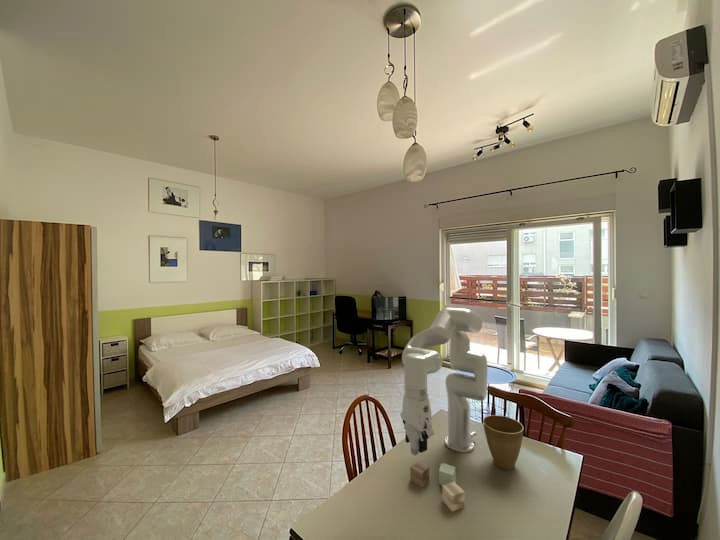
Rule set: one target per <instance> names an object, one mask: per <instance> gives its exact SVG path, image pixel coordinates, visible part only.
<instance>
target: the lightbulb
mask: <svg viewBox="0 0 720 540" xmlns="http://www.w3.org/2000/svg"><path fill="white" fill-rule="evenodd" d="M405 431H406V432H405V435H406V434H407V437H408V438H409V441H410V442H409V446H410V453H411V454H412V455H413V456H417V455H419V453H420V452H419V440H420V437H419V432H418V430H417V429H415V428H414V427H413V426H412V425H411V424H408V425H407V427H406V430H405ZM422 434H423V435H424V431H423V432H422Z"/></svg>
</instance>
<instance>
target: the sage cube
mask: <svg viewBox="0 0 720 540" xmlns="http://www.w3.org/2000/svg"><path fill="white" fill-rule="evenodd" d="M456 469H457V468H456V466H453V465H450V464H447V463H444V462H443V463H441V464H440V467H439V469H438V485H440V486H443V485H446V484H449V483H452V482H455V483H456V480H457V479H456V477H457V476H456V474H457V472H456V471H457V470H456Z"/></svg>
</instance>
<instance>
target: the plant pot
mask: <svg viewBox="0 0 720 540" xmlns="http://www.w3.org/2000/svg"><path fill="white" fill-rule="evenodd" d="M482 424H483V429H484V430H483V431H484V434H485V438H486V442H487V447H488V449H489V452H490V454H491V457H492V460H493V462H494V464H495V465H496V466H498V467H499V468H501V469H504V470H510V469H513V468H514V467H515V466H516V463H517V461H518V458H519V455H520V451H521V446H522V442H523V437H524V429H525V428H524V426H523V424H522V423H521V422H520V421H518V420H517V419H515V418H511V417H508V416H505V415H499V414H498V415H496V414H493V415H488V416H487V415H486V416H485V417H484V418H483V419H482Z"/></svg>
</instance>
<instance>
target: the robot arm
mask: <svg viewBox="0 0 720 540" xmlns="http://www.w3.org/2000/svg"><path fill="white" fill-rule="evenodd" d="M482 327H483V318H482V315H480V314H479V312H476V311H474V310H471V309H468V308H460V307H459V308H458V307H444V308H441V310H439V312H438V313H437V315H436V316H435V318H434V320H433V322H432V324H431V325H430V327H428V328H426V329H424V330H422V331H420V332H418V333H416V334H415V335H413V336H412V337H411V338H410V339H409V341H408V342H407V344H406V345H405V347H404V349H403V351H402V354H401V362H402V364H403V365H404V366H403V367H404V370H403V372H404V373H403V375H404V376H403V377H404V378H403V379H404V380H403V381H404V382H403V384H404V385H403V386H404V387H403V388H404V393H403V399H402V407H401V409H402V411H401V412H400V413H399V414H400V415H399V416H400V417H401V419H402V424H403V425H404V426H403V428H404V430H405V443H407V444H408V443H410V441H409V438H408V437H407V434H406V427H407V425H408V424H411V425H412V426H413V427H414V428H415V429H417V430H418V432H419V437H420V440H419V453H420V454H421V453H423V452H426V451H427V450H428V439H429V438H431V437H432V436H433V435H435V433H434V430H433V428H432V427H433V424H432V423H433V422H432V421H433V420H432V408H431V407H432V406H431V403H430V402H431V401H430V399H429V393H428V375H429V374H435V373H437V372H438V371H440V370H441V369H442V366H443V361H444V360H443V356H442V355H441V353H440V352H438V351H437V350H432V349H427V348H431V347H436V346H441V345H444V344H447V343H448V342H449V341H450V342H449V343H450V344H449V345H450V347H449V348H450V349H449V365H450V368H452V369H453V370H456V371H459V372H464V373H468V374H473V375H474V376H473V375H468V374H463V373H458V372H452V373H451V372H450V373H449V374H447V376H446V377H445V381H444V382H445V388H446V396H447V436H446V437H445V438H444V445H445V446H446V447H447V448H448V449H450V450H452V451H454V452H456V453H470V452H472V451H473V450H474V449H475V444H474V442H473V441H472V439H473V438H475V437H476V436H477V432H476V431H472V432H471V406H470V403H469V401H468V399H470V400H473V401H477V402H482V401H485V400H486V398H487V395H488V359H487V357H486V355H485V354H484V353H482V352H479V351H475V350H471V349H470V348H471V346H470V345H471V343H470V341H471V340H470V337H469V335H468V333H474V334H476V333H479V332H481V330H482ZM423 431H424V435H423V434H422V432H423Z"/></svg>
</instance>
